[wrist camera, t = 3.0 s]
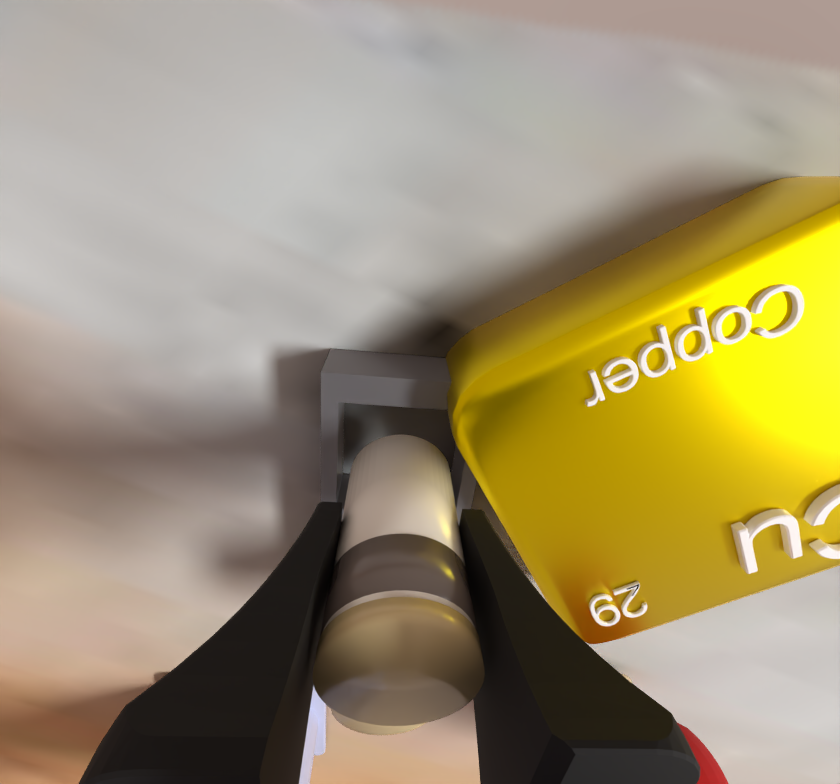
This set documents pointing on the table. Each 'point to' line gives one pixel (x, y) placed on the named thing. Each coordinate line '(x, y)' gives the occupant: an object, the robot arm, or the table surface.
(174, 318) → the table surface
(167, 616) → the table surface
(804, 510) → the element tile
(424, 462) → the fuse
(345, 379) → the fuse block
